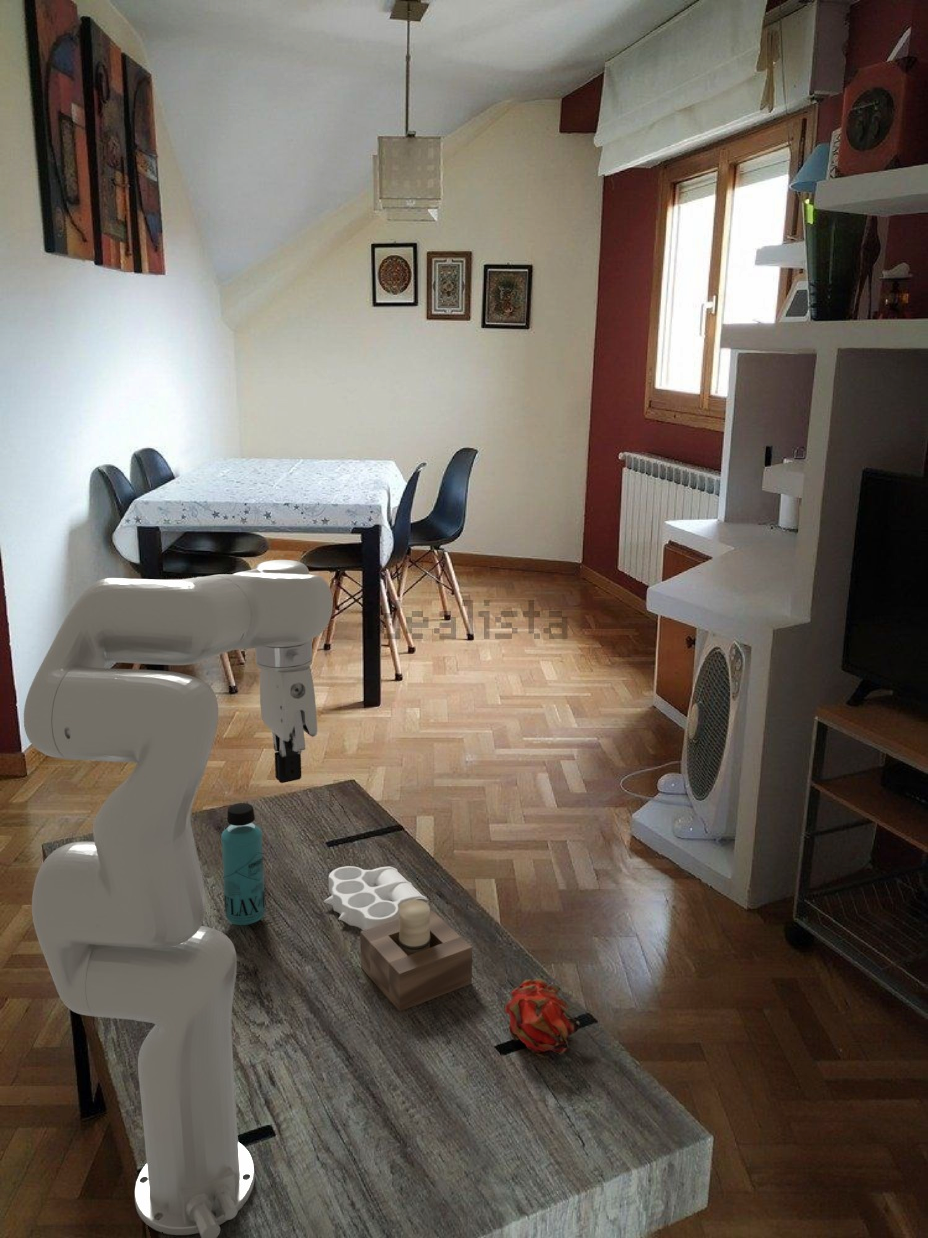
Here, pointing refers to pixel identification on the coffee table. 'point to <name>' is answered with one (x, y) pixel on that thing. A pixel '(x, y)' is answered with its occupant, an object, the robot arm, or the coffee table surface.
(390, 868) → the knuckle duster
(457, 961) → the socket block
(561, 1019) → the dragon fruit
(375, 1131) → the coffee table surface
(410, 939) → the peg
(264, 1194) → the coffee table surface
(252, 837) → the beverage bottle
